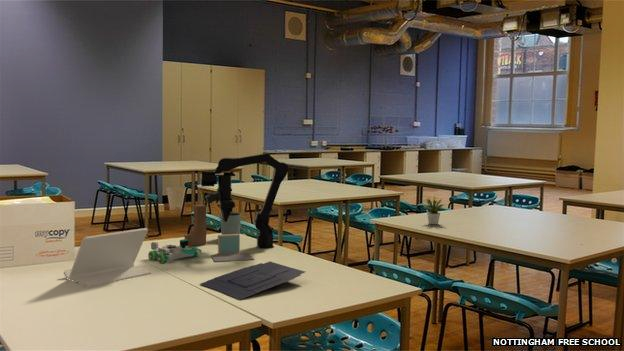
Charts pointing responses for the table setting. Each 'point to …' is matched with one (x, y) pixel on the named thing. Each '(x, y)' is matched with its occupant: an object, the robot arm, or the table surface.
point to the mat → (232, 257)
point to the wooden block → (198, 227)
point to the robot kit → (172, 251)
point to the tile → (228, 244)
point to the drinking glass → (231, 224)
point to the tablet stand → (108, 258)
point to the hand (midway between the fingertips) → (224, 221)
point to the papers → (253, 279)
